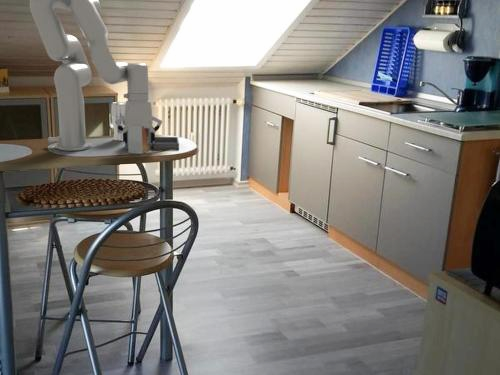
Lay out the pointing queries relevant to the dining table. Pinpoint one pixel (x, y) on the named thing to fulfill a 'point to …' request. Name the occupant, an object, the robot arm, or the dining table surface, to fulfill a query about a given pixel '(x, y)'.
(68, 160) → the dining table surface
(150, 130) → the grey rectangular block
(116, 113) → the beer glass
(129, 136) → the small box
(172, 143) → the tray
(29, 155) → the dining table surface
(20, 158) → the dining table surface
